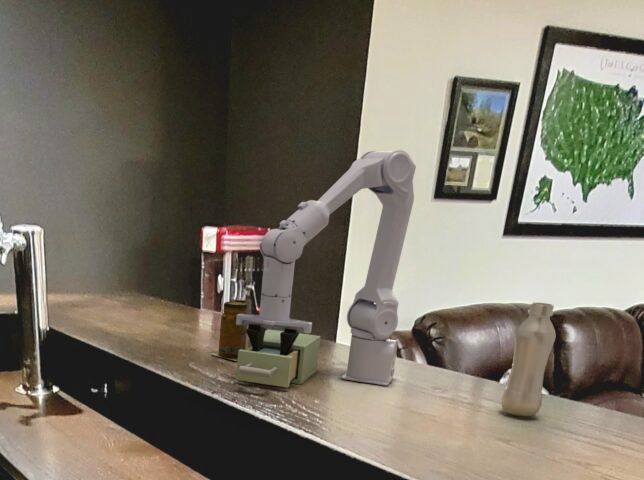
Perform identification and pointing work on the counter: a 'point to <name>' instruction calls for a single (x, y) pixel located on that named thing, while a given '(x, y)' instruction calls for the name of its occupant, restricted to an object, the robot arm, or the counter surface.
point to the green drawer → (267, 366)
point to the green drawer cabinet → (307, 352)
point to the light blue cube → (270, 351)
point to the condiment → (232, 331)
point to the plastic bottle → (529, 361)
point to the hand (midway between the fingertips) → (269, 365)
